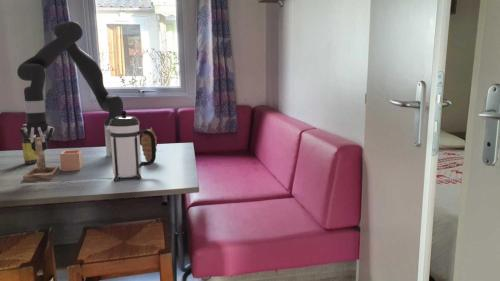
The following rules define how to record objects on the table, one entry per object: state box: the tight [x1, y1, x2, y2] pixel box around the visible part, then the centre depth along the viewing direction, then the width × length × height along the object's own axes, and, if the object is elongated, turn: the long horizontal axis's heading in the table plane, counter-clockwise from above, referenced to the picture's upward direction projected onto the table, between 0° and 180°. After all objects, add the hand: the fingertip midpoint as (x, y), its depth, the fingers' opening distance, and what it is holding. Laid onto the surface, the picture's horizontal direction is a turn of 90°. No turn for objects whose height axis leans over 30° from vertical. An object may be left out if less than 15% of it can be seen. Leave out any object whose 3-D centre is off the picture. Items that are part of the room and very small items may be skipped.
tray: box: [22, 165, 61, 184], centre depth 167 cm, size 11×14×3 cm
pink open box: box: [59, 149, 84, 172], centre depth 179 cm, size 8×8×9 cm
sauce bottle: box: [21, 123, 37, 165], centre depth 191 cm, size 6×6×20 cm
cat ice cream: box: [140, 126, 158, 162], centre depth 193 cm, size 9×8×18 cm
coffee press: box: [106, 109, 157, 183], centre depth 166 cm, size 17×16×30 cm
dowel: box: [34, 137, 47, 170], centre depth 165 cm, size 3×3×14 cm
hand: (39, 150), depth 165 cm, fingers closed on dowel, 3 cm apart
